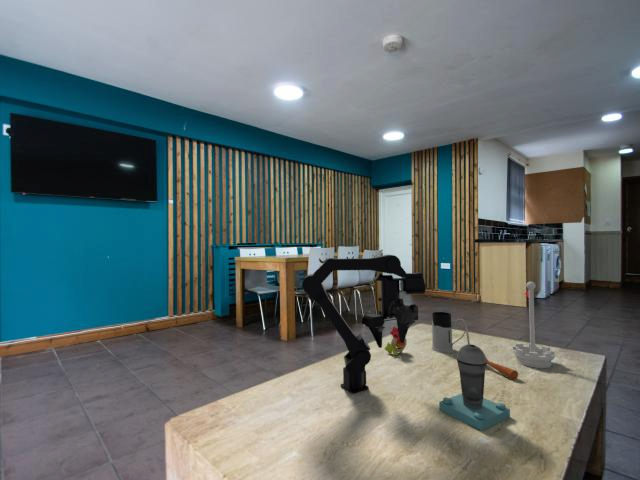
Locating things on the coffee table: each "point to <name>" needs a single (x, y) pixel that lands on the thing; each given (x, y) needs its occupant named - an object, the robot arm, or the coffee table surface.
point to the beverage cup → (472, 374)
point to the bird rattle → (395, 343)
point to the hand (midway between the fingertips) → (391, 345)
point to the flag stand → (533, 341)
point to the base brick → (475, 412)
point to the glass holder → (443, 332)
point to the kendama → (504, 370)
